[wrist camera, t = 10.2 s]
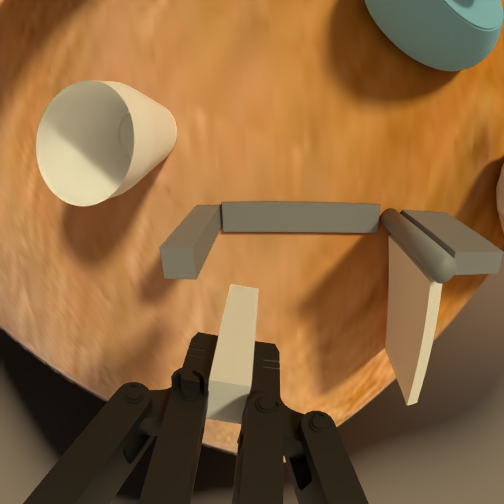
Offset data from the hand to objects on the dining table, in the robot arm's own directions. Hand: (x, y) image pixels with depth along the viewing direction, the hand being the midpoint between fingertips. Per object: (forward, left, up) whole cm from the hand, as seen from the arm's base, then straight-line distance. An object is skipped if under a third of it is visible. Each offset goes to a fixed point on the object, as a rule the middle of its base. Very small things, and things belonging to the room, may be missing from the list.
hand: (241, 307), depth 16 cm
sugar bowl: (-24, +18, -16) cm, 34 cm away
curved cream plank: (+9, +17, -14) cm, 24 cm away
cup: (-9, -11, -16) cm, 21 cm away
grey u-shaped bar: (0, +8, -15) cm, 17 cm away
